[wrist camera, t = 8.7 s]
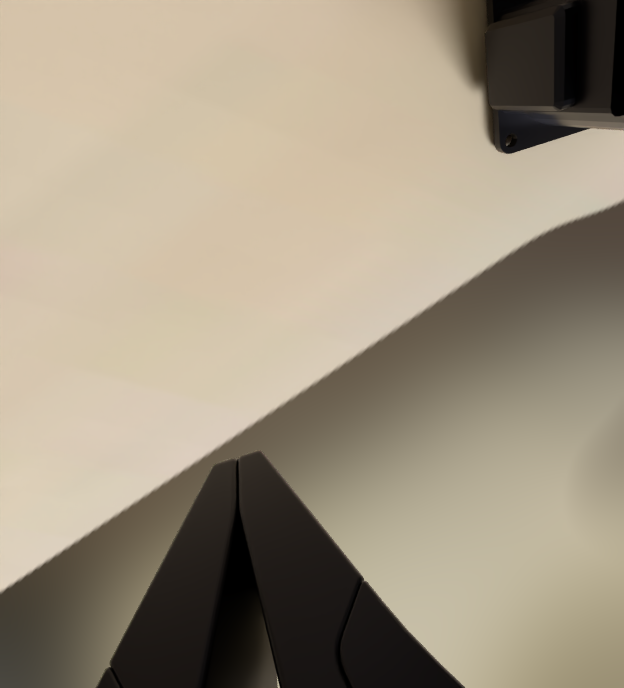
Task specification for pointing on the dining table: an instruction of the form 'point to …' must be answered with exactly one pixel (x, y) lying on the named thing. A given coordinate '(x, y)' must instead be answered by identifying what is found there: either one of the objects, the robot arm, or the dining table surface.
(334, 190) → the dining table surface
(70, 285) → the dining table surface
